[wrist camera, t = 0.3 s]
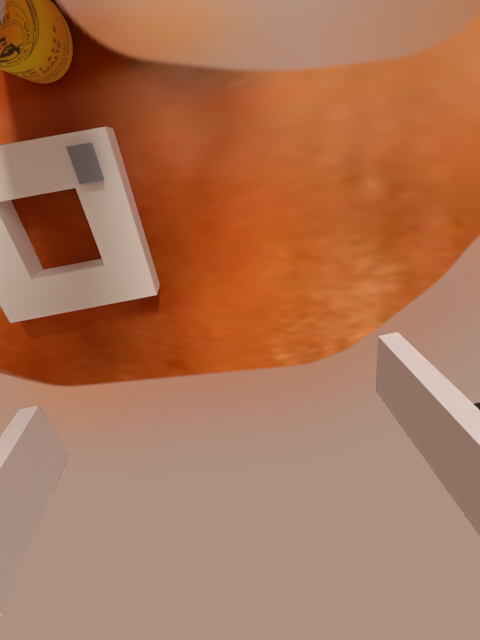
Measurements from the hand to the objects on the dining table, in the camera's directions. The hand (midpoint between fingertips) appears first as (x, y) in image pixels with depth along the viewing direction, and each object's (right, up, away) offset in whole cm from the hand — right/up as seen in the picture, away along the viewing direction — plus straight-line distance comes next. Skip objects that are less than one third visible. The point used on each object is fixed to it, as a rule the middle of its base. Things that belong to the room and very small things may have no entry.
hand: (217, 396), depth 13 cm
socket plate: (-18, +13, +22) cm, 31 cm away
